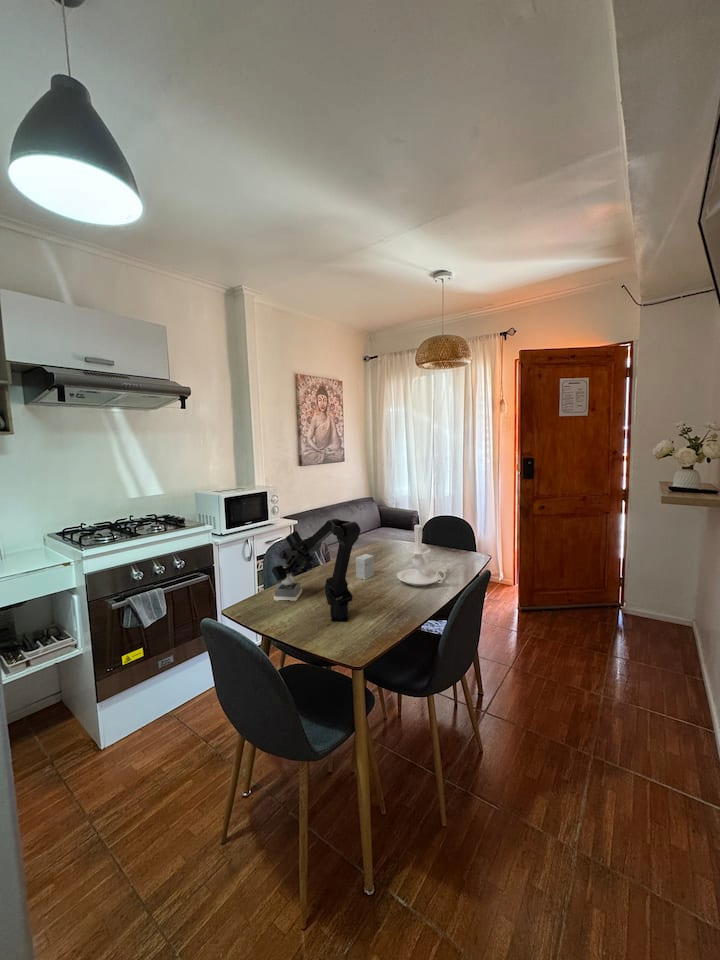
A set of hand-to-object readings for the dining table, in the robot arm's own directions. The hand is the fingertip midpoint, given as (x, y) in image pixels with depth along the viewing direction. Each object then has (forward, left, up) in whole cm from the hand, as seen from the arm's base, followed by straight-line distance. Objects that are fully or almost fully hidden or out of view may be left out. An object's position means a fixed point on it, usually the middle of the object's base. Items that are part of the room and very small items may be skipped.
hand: (285, 578), depth 179 cm
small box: (-33, -24, -8) cm, 42 cm away
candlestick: (-61, -17, -8) cm, 64 cm away
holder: (-1, +1, -8) cm, 8 cm away
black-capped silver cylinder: (-1, +1, -6) cm, 7 cm away
